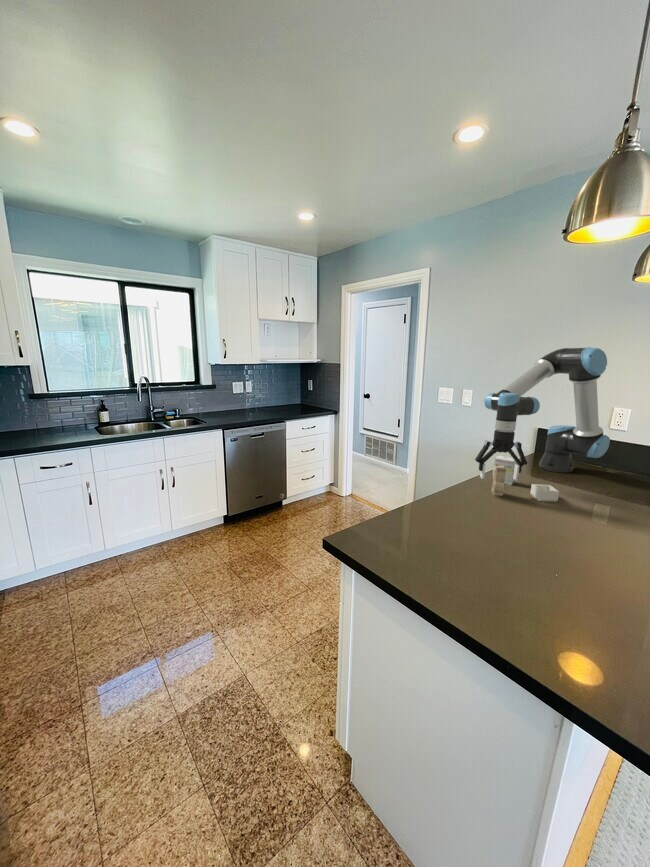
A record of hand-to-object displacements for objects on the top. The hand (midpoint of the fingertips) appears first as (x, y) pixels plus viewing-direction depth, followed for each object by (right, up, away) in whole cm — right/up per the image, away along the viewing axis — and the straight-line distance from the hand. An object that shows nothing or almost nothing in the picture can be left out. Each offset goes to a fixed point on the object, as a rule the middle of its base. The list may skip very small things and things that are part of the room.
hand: (498, 478), depth 150 cm
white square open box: (+18, -8, -3) cm, 19 cm away
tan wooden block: (0, -7, +1) cm, 7 cm away
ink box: (+10, -4, +16) cm, 19 cm away
